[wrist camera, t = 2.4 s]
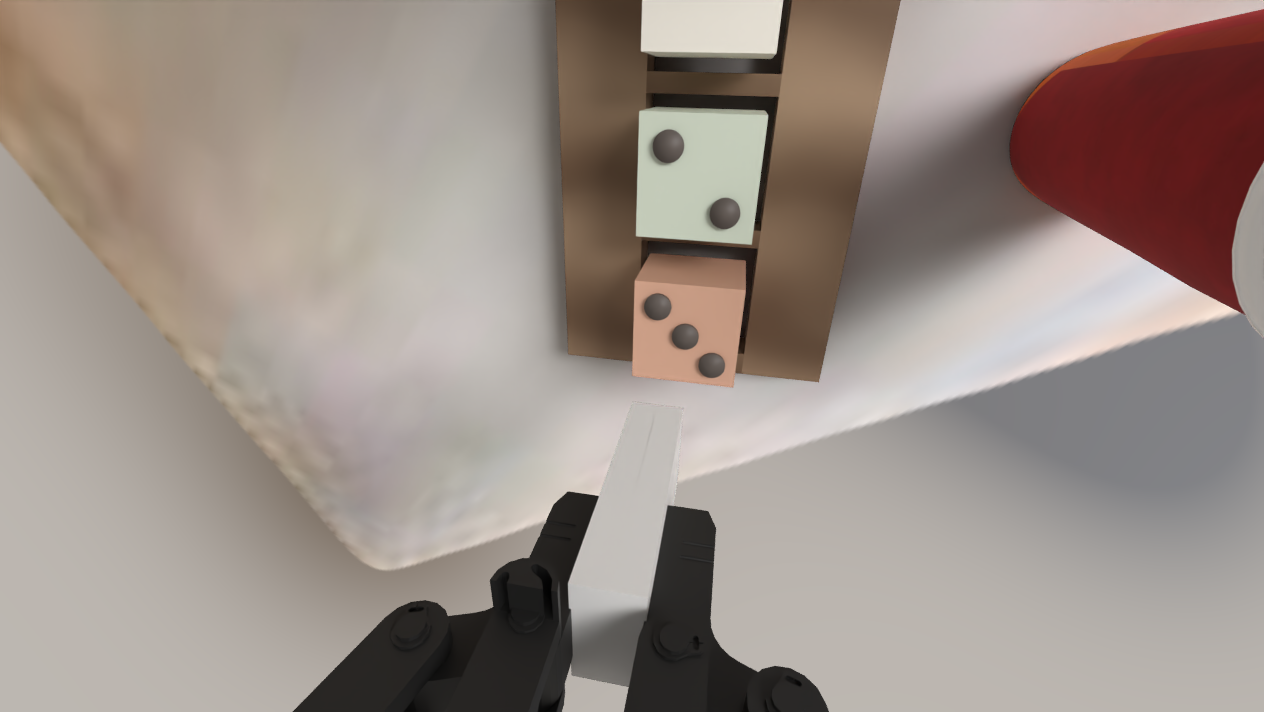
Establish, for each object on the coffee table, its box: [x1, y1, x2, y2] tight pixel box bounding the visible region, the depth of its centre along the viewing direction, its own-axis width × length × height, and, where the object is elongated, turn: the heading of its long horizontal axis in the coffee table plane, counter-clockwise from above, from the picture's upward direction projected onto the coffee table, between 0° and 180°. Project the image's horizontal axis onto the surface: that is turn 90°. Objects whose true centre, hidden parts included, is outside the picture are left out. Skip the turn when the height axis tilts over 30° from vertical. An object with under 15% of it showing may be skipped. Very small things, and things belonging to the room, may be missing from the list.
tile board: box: [555, 0, 901, 382], centre depth 24 cm, size 20×13×2 cm, turn 178°
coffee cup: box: [1010, 9, 1264, 338], centre depth 15 cm, size 8×8×15 cm
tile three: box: [632, 253, 746, 387], centre depth 24 cm, size 4×4×4 cm
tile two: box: [636, 107, 768, 245], centre depth 21 cm, size 4×4×4 cm
